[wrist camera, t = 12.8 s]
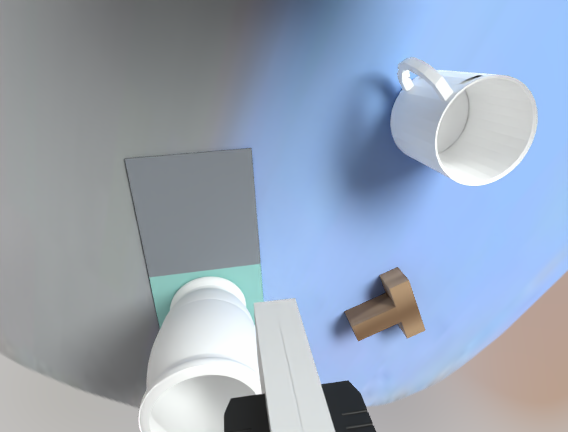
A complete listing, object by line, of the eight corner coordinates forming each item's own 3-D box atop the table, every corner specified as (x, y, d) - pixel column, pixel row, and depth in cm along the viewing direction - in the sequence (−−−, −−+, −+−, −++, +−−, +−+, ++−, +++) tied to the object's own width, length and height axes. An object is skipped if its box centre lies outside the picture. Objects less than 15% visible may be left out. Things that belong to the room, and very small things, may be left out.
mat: (124, 158, 38) (124, 159, 37) (251, 147, 39) (251, 148, 39) (168, 369, 48) (168, 370, 48) (267, 354, 49) (267, 355, 49)
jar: (210, 248, 42) (208, 341, 29) (273, 304, 46) (297, 410, 33) (140, 309, 44) (106, 426, 30) (207, 358, 48) (204, 481, 34)
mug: (483, 127, 43) (550, 145, 34) (411, 175, 43) (459, 205, 35) (439, 22, 38) (505, 14, 29) (359, 78, 38) (401, 86, 30)
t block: (336, 294, 48) (344, 309, 45) (397, 266, 48) (408, 280, 45) (357, 340, 51) (365, 357, 48) (413, 315, 51) (425, 330, 48)
